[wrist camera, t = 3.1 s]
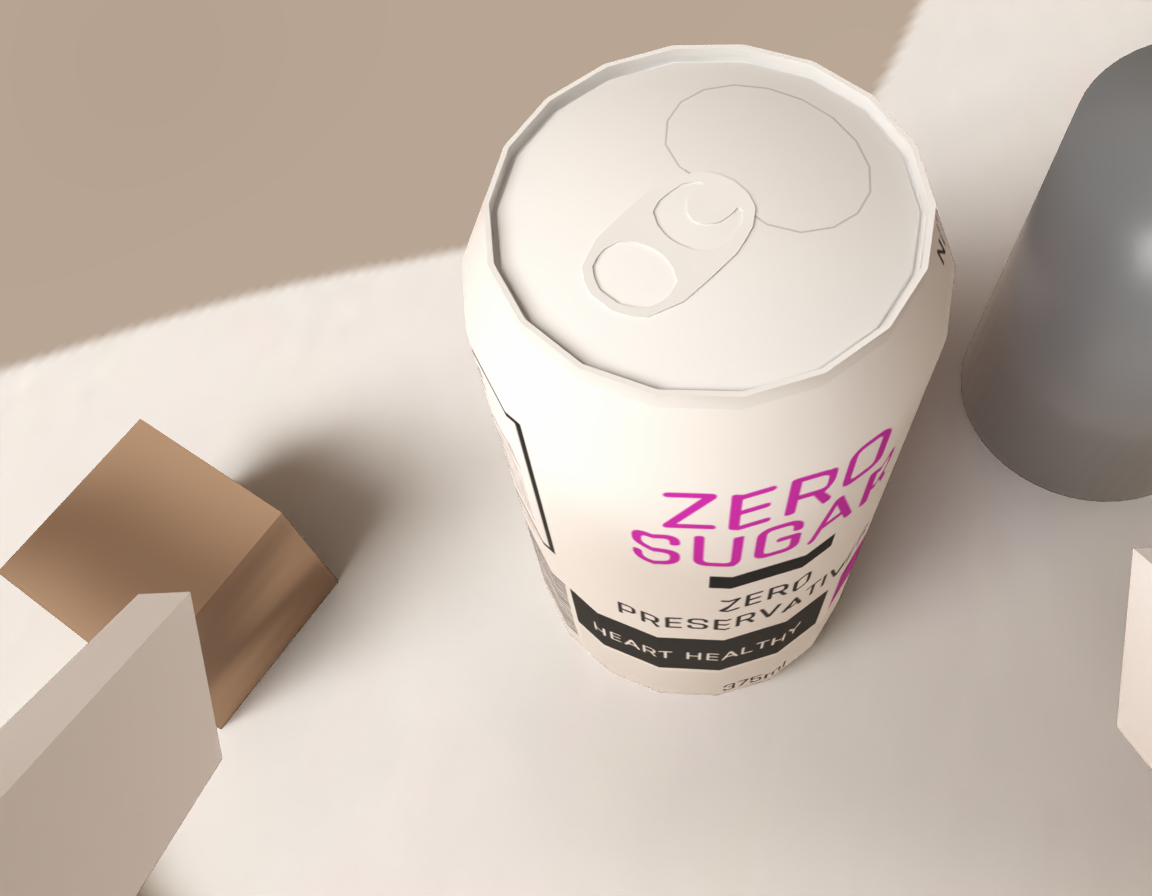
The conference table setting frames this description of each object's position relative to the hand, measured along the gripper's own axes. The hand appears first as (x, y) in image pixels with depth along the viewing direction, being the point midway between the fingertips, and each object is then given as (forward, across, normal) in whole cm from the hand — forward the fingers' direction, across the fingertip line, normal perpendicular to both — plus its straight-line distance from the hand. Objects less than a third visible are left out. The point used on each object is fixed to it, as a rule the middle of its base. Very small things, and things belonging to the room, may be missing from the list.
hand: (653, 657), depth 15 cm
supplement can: (+14, +1, -5) cm, 15 cm away
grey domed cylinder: (+17, +13, -1) cm, 22 cm away
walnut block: (+14, -12, -5) cm, 19 cm away
